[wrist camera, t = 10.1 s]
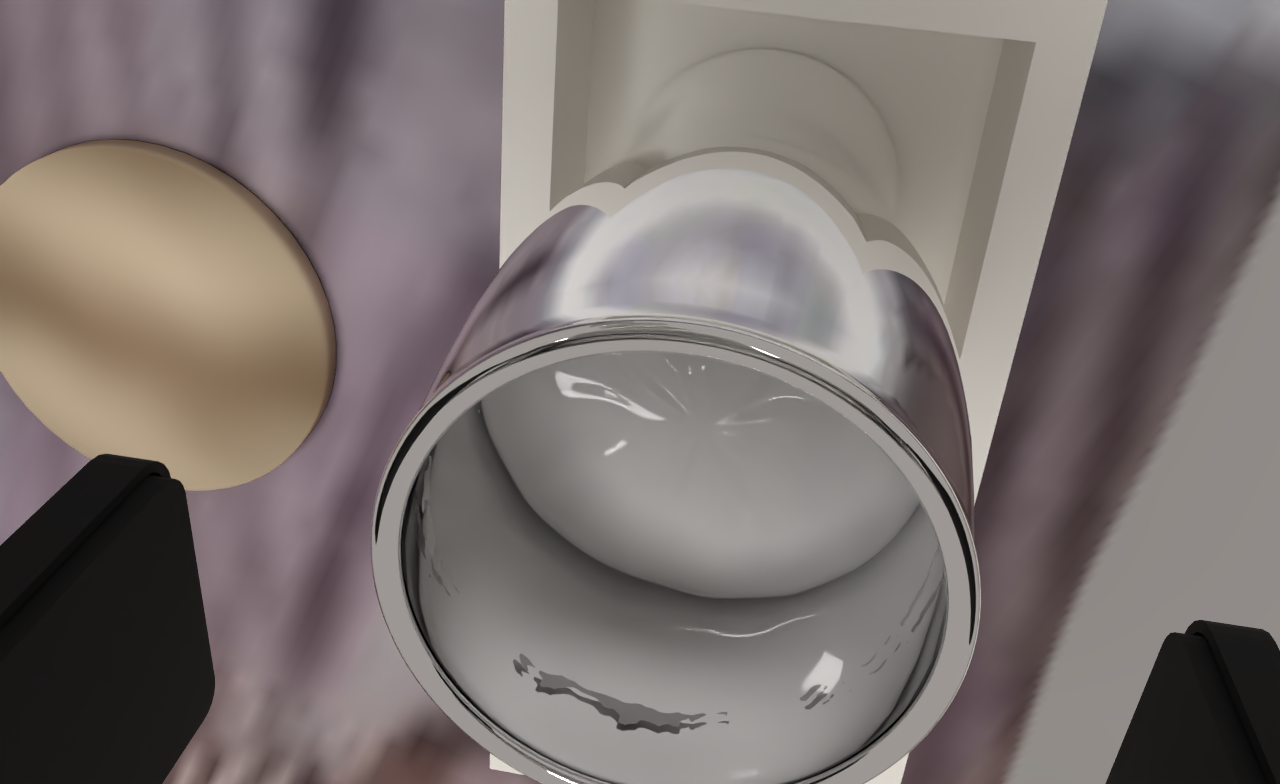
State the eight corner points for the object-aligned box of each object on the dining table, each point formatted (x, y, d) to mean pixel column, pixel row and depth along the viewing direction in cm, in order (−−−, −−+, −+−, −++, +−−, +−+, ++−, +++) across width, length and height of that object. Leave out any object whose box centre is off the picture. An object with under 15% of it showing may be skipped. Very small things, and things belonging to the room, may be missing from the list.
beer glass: (721, -44, 23) (553, 153, 10) (988, 151, 24) (1159, 572, 11) (550, 219, 26) (252, 631, 13) (791, 382, 27) (737, 921, 14)
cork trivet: (-45, 117, 29) (-67, 125, 28) (326, 164, 28) (312, 174, 27) (25, 448, 34) (8, 462, 33) (345, 500, 33) (334, 515, 32)
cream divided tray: (564, -97, 24) (506, -75, 20) (1064, -46, 23) (1111, -12, 19) (533, 652, 34) (490, 768, 30) (880, 712, 33) (885, 841, 29)
